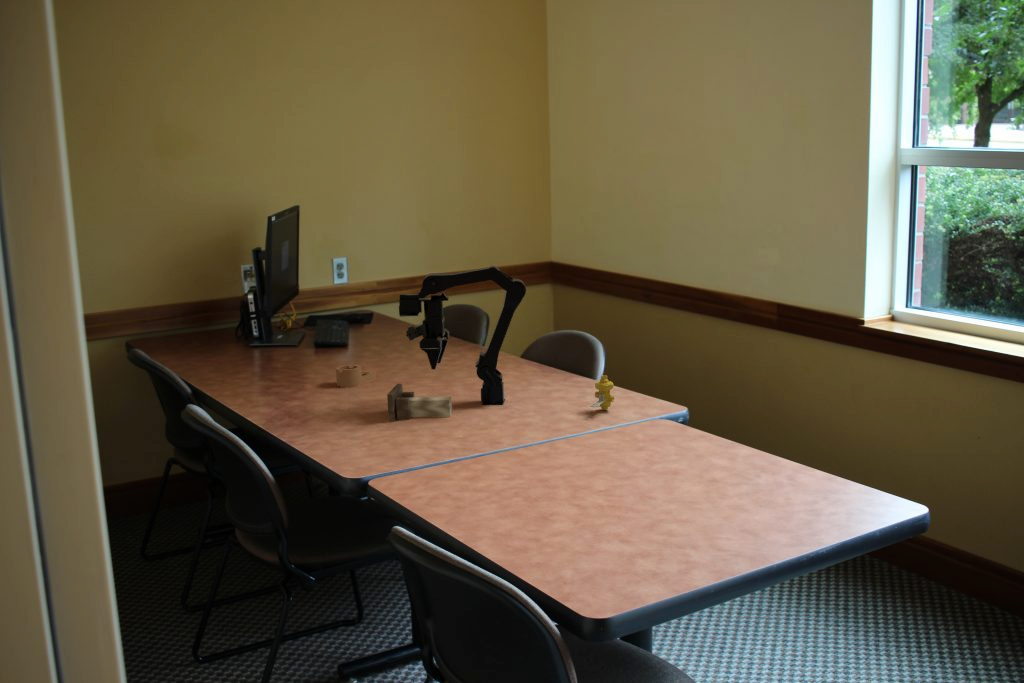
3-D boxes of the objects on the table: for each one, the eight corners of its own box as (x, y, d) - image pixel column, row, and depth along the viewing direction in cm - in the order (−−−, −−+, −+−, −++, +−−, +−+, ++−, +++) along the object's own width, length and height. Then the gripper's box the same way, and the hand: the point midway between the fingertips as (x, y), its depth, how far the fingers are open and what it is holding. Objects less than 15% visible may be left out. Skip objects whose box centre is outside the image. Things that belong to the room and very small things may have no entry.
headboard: (416, 409, 300) (415, 383, 298) (407, 421, 286) (406, 394, 285) (398, 409, 300) (397, 383, 299) (388, 421, 287) (387, 394, 285)
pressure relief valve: (616, 407, 294) (615, 374, 293) (602, 417, 284) (602, 383, 282) (598, 406, 297) (598, 373, 295) (584, 416, 286) (583, 381, 284)
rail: (451, 413, 294) (451, 396, 293) (450, 416, 290) (449, 400, 289) (401, 413, 295) (401, 397, 294) (399, 417, 291) (398, 400, 290)
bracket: (354, 391, 328) (353, 370, 326) (332, 389, 331) (331, 369, 329) (380, 379, 344) (379, 359, 343) (359, 378, 347) (358, 358, 346)
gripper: (413, 311, 310) (415, 360, 313) (401, 321, 292) (403, 372, 295) (448, 310, 309) (450, 359, 312) (438, 320, 291) (441, 372, 293)
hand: (436, 366), depth 303 cm, fingers open, 9 cm apart
